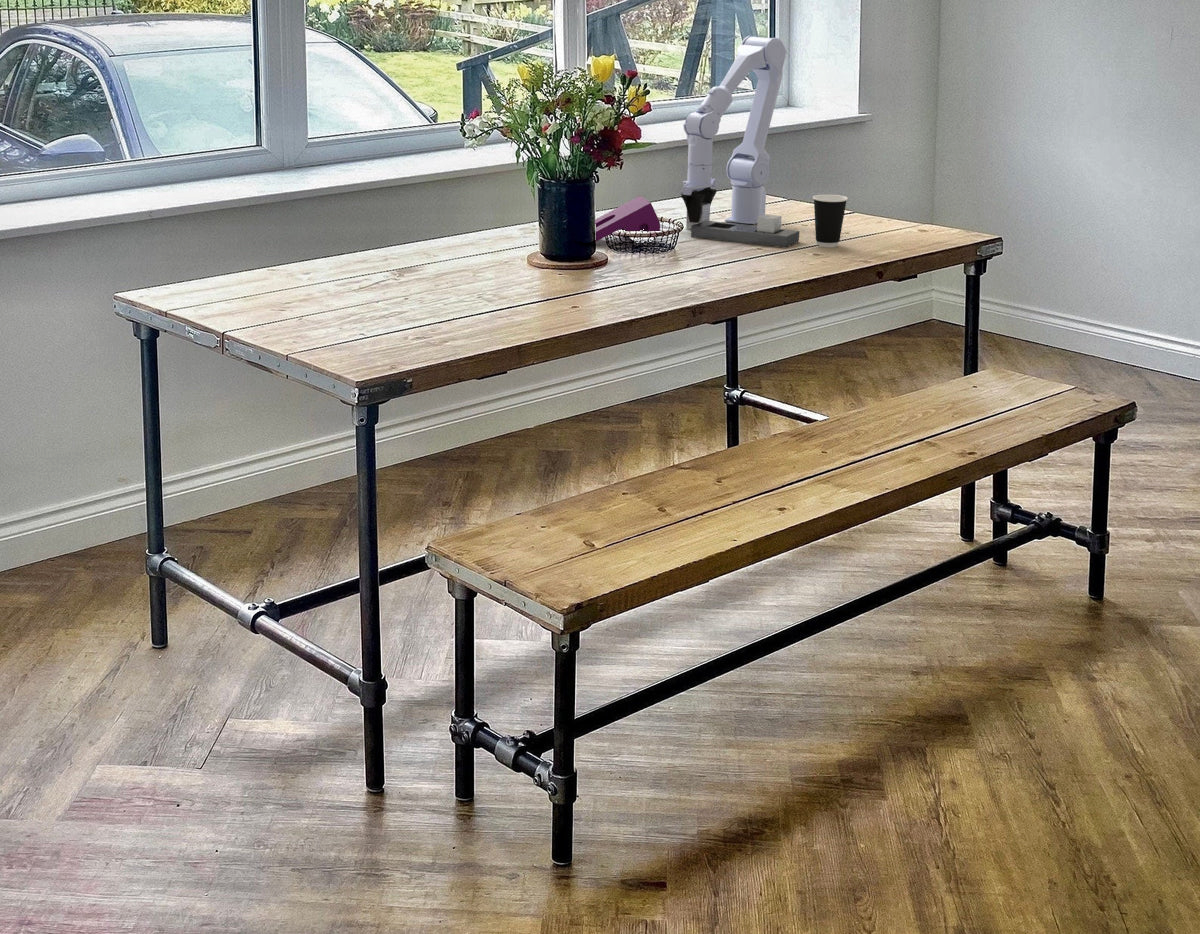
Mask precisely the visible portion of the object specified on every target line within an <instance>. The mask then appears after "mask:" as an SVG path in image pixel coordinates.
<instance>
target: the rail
mask: <svg viewBox="0 0 1200 934" xmlns="http://www.w3.org/2000/svg"><path fill="white" fill-rule="evenodd" d="M690 236H691V237H690V238H697V239H707V240H716V241H723V242H731V243H733V242H734V243H741V244H748V243H750V244H749V245H756V244H758V245H759V246H765V245H768V246H767V247H774V246H779V247H778V248H782V247H787V248H788V246H789V245H791V246H793V245H795V244H797V243H799V242H800V230H798V229H797V230H796V229H785V228H781V232H779V233H777V234H769V233H760V232H757V225H753V224H744V223H735V222H726V221H725V222H724V221H716V220H715V221H713V220H710V221H707V220H706V221H703V222H700V223H698V224H695V225H692V226H691V230H690ZM798 241H799V242H798ZM796 242H797V243H796ZM794 243H795V244H794ZM792 244H793V245H792ZM789 247H790V246H789Z"/></svg>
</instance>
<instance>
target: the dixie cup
mask: <svg viewBox="0 0 1200 934" xmlns="http://www.w3.org/2000/svg"><path fill="white" fill-rule="evenodd" d="M812 199H813V205H814V206H813V207H814V228H815V229H814V230H815V241H816V246H818V245H819V246H818V247H821V246H824V247H823V248H835V246H836V247H838V246H839V242H840V241H841V239H840V238H841V233H842V230H843V229H842V228H843V224H844V223H843V222H844V216H845V213H846V212H845V211H846V206H847V201H848V199H849V198H848V197H847V196H844V195H842V194H841V195H839V194H816V195H813V196H812Z"/></svg>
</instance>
